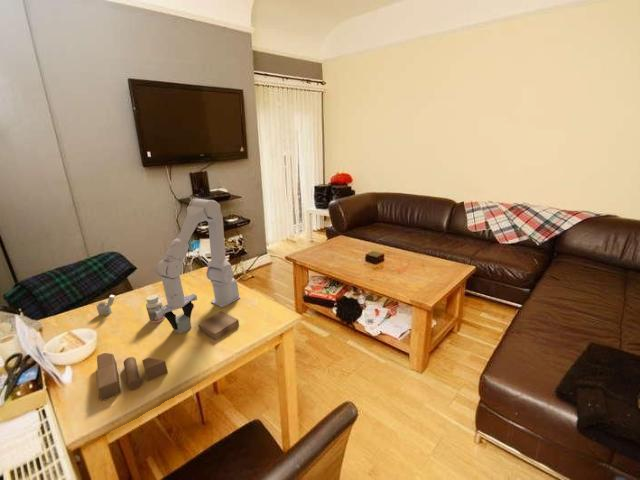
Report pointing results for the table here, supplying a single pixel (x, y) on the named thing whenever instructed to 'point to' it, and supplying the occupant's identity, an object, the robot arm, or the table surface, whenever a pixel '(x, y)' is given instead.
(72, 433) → the table surface
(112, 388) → the wooden block set
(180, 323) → the grey cube
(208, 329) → the walnut block
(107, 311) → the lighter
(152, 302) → the pill bottle
